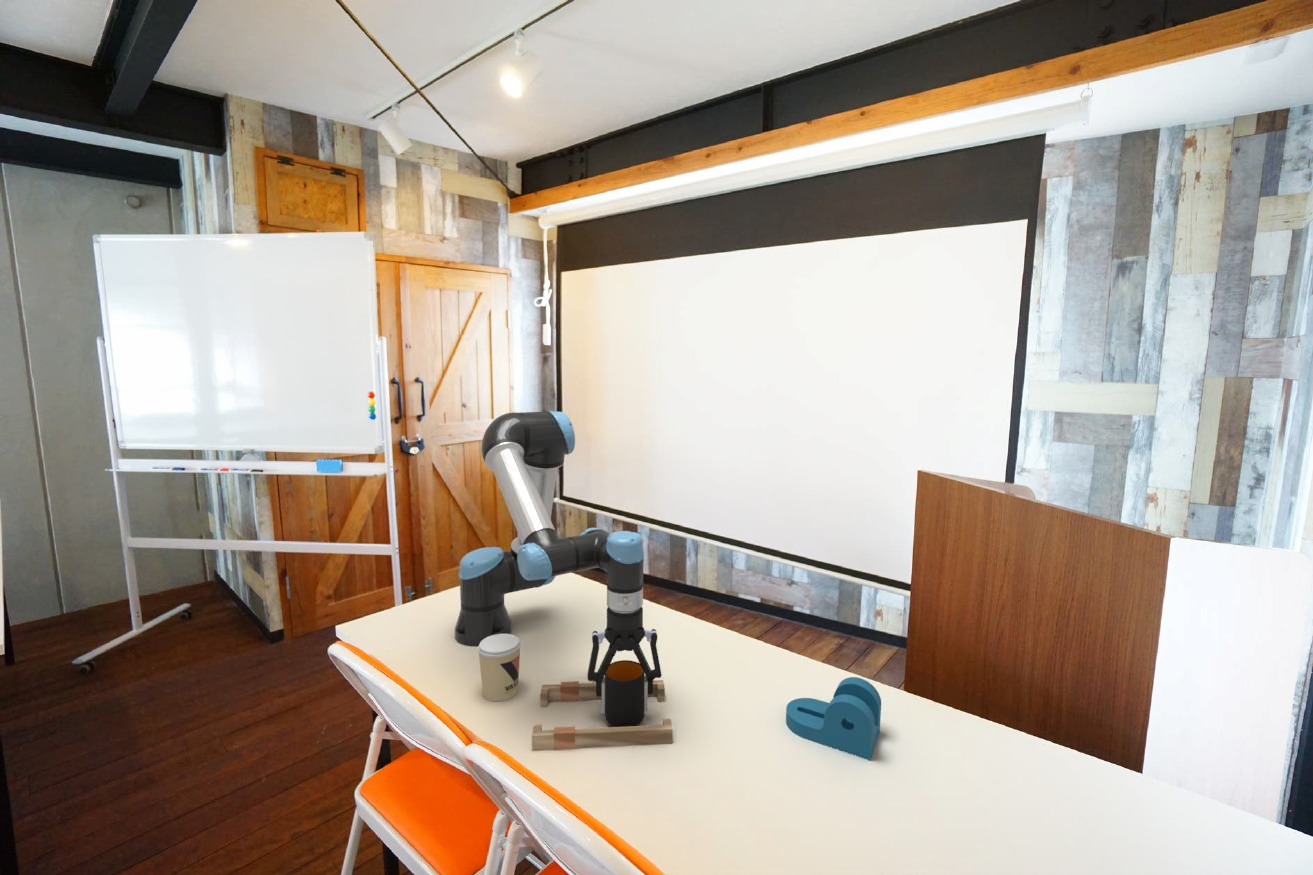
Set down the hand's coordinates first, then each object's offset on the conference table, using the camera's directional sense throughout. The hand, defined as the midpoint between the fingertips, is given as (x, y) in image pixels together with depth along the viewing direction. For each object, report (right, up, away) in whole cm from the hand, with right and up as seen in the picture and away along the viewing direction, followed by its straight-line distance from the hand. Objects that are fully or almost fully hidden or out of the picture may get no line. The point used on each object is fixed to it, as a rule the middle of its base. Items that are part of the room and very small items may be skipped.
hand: (624, 708), depth 121 cm
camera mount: (+43, -3, -3) cm, 43 cm away
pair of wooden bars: (-5, -2, 0) cm, 5 cm away
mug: (+1, -1, 0) cm, 1 cm away
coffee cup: (-29, -1, +9) cm, 31 cm away
